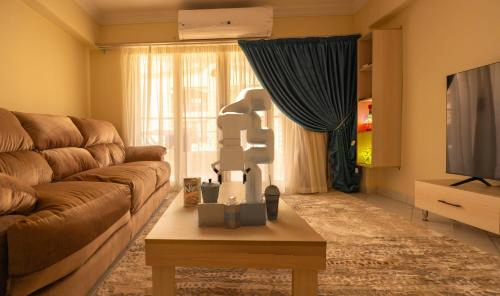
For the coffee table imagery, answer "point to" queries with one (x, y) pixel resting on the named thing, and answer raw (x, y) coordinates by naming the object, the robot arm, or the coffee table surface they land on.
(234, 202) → the steel pin
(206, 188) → the coffeepot
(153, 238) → the coffee table surface
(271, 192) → the beverage cup
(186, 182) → the candy box
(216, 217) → the hinge
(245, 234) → the coffee table surface
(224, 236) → the coffee table surface
